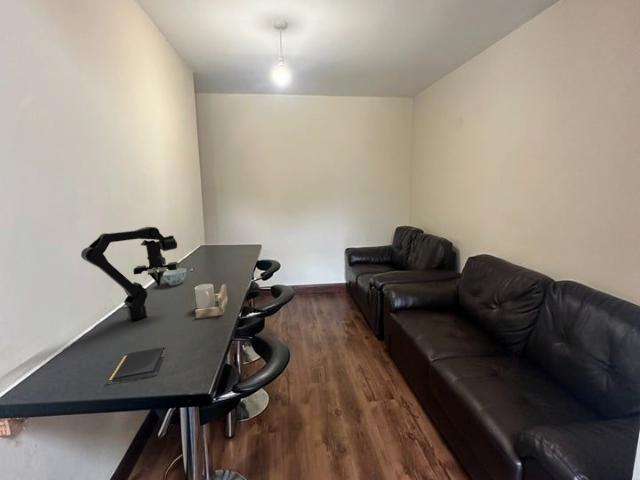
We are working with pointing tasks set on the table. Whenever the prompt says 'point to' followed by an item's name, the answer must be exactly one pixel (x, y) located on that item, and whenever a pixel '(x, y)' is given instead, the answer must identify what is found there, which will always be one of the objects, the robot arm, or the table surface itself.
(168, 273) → the chinaware
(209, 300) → the cup
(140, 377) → the dark grey notebook
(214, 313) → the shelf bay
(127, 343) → the table surface
